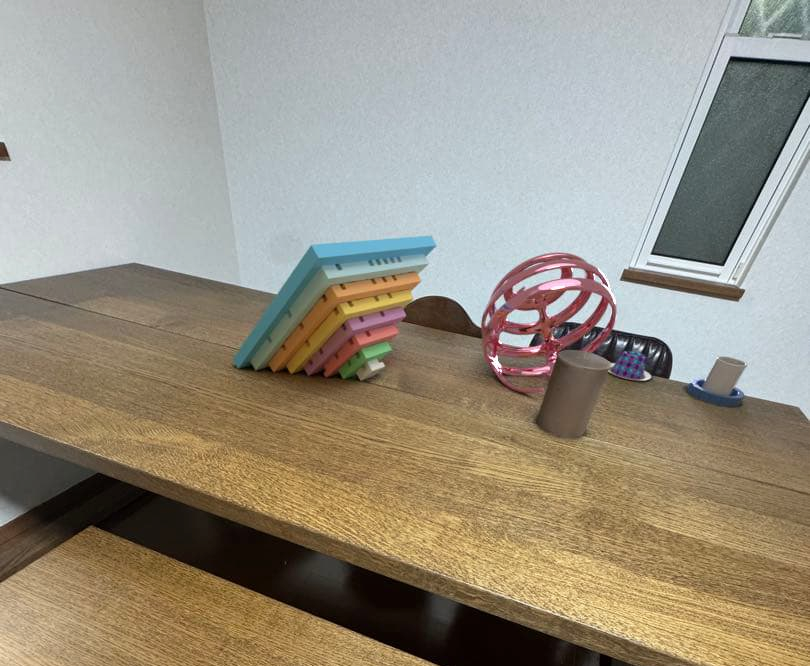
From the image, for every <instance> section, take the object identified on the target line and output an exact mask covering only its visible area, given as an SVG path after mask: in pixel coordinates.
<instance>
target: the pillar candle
mask: <svg viewBox="0 0 810 666" xmlns="http://www.w3.org/2000/svg"><path fill="white" fill-rule="evenodd" d="M611 363H612V362H611V361H609V360H607V359H606V358H604V357H602V356H600V355H598V354H595V353H588V352H587V351H585V352H584V351H580V350H576V349H565V350H560V351H559V352H558V353H557V358H556V361H555V364H554V367H553V370H552V374H551V377H549V380H548V383H547V386H546V389H545V392H544V396H543V399H542V401H541V404H540V408H539V410H538V415H537V417H536V419H535V423H536V425H537V426H538V427H539V428H540V429H541V430H542V431H544V432H546V433H548V434H551V435H554V436H557V437H560V438H569V439H570V438H571V439H572V438H579V437H581V436H583V435H584V434H585V432H586V429H587V427H588V424H589V422H590V419H591V417H592V414H593V412H594V410H595V407H596V403H597V401H598V399H599V396H600V394H601V392H602V389H603V386H604V384H605V381H606V378H607V377H608V374H609V372H608V371H610V369H611V368H612V367H611Z"/></svg>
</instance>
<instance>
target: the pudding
mask: <svg viewBox="0 0 810 666" xmlns="http://www.w3.org/2000/svg"><path fill="white" fill-rule="evenodd" d="M646 362H647V357H646V356H645V355H644V354H643V353H640V352H638V351H632V350H625V351H623V352H622V353H621V355H619V358H618V359H617V360H616V362H610V363H611V367H610V368H611V371H610V370H609V371H608V373H610V374H612V375H613V376H616V377H619V378H623V379H626V380H631V381H634V379H635V380H639V382H640V381H648V380H651V379H652V375H651V374H650V372H648V371H646V370H645V368H646ZM643 377H644V378H643ZM641 378H643V379H641Z"/></svg>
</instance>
